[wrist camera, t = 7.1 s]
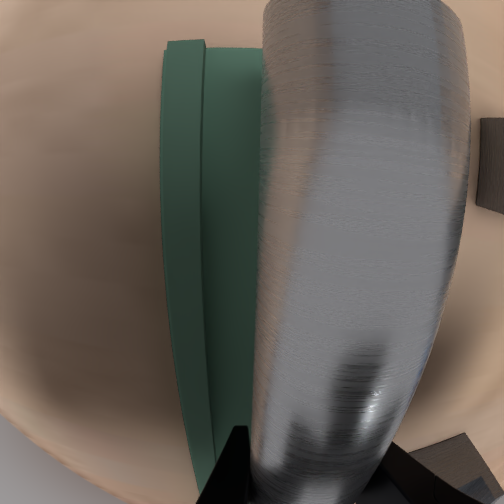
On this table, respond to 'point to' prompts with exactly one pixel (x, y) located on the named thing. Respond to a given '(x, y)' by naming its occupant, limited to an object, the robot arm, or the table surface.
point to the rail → (351, 232)
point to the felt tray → (211, 235)
